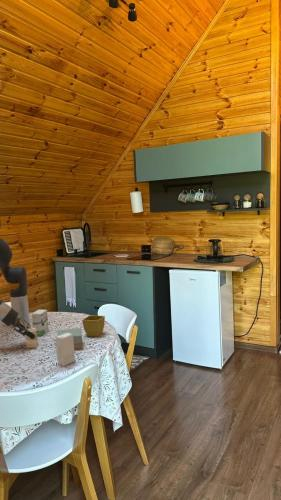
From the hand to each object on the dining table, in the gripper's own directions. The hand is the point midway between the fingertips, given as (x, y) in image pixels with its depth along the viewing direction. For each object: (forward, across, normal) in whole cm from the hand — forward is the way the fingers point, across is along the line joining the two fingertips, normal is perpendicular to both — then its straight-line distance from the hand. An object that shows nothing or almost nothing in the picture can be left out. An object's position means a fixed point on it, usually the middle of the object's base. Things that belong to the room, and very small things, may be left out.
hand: (34, 335), depth 180 cm
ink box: (+5, +18, +3) cm, 19 cm away
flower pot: (+24, +6, -16) cm, 30 cm away
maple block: (+3, 0, +4) cm, 5 cm away
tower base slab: (+15, -6, -8) cm, 18 cm away
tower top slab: (+13, -6, -10) cm, 18 cm away
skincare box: (+14, -25, -7) cm, 30 cm away
